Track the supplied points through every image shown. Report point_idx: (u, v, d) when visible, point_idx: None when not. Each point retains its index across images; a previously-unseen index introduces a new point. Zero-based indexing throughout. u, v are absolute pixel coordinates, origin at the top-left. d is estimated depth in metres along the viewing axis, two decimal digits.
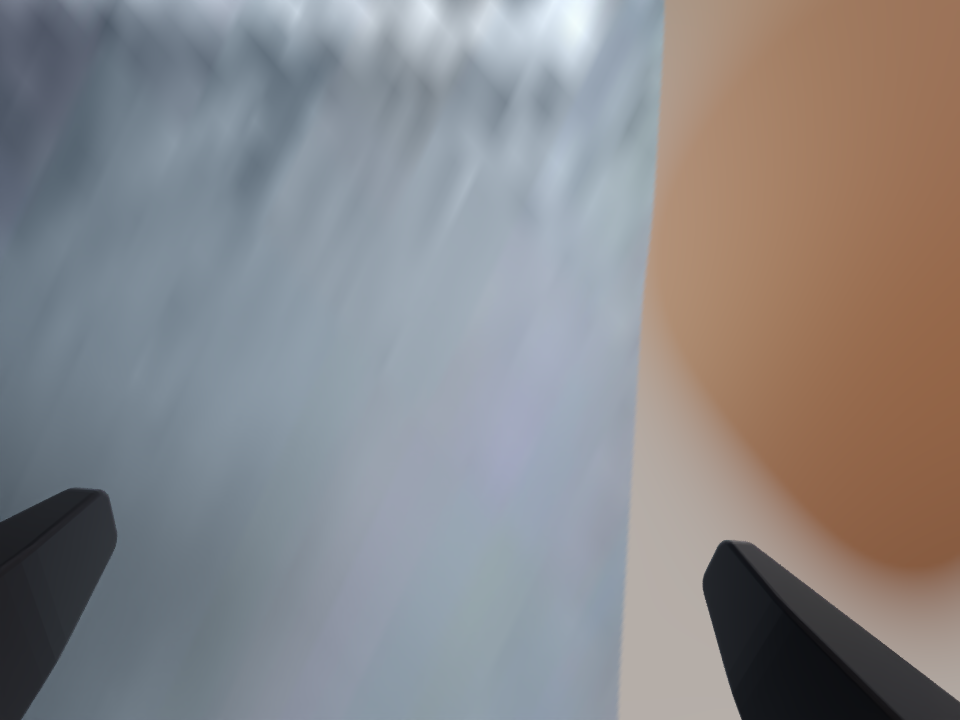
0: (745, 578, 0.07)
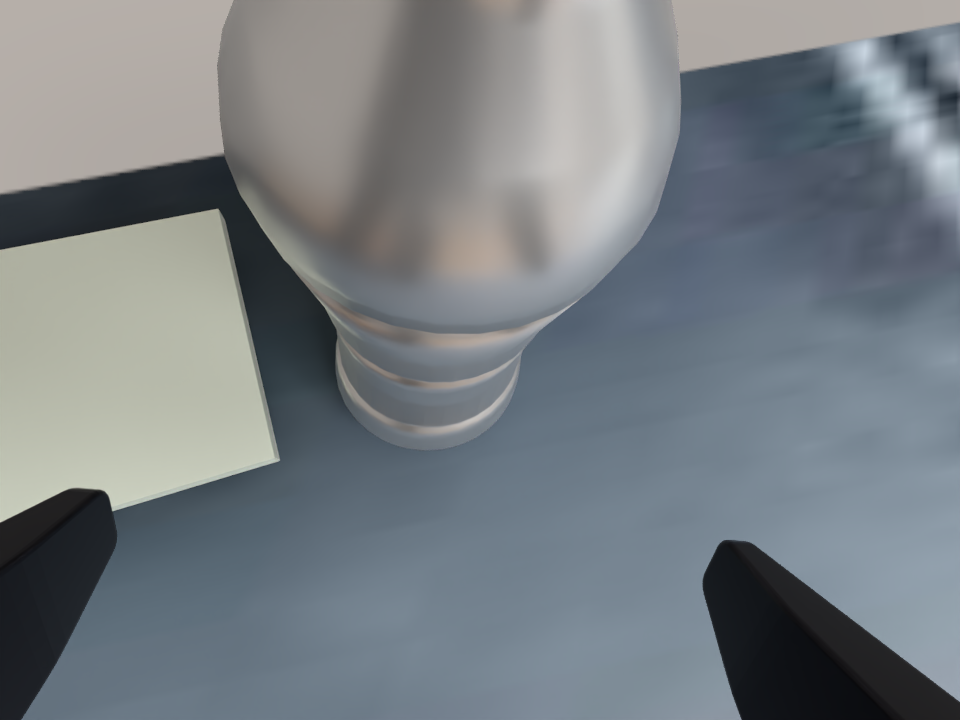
0: (745, 578, 0.07)
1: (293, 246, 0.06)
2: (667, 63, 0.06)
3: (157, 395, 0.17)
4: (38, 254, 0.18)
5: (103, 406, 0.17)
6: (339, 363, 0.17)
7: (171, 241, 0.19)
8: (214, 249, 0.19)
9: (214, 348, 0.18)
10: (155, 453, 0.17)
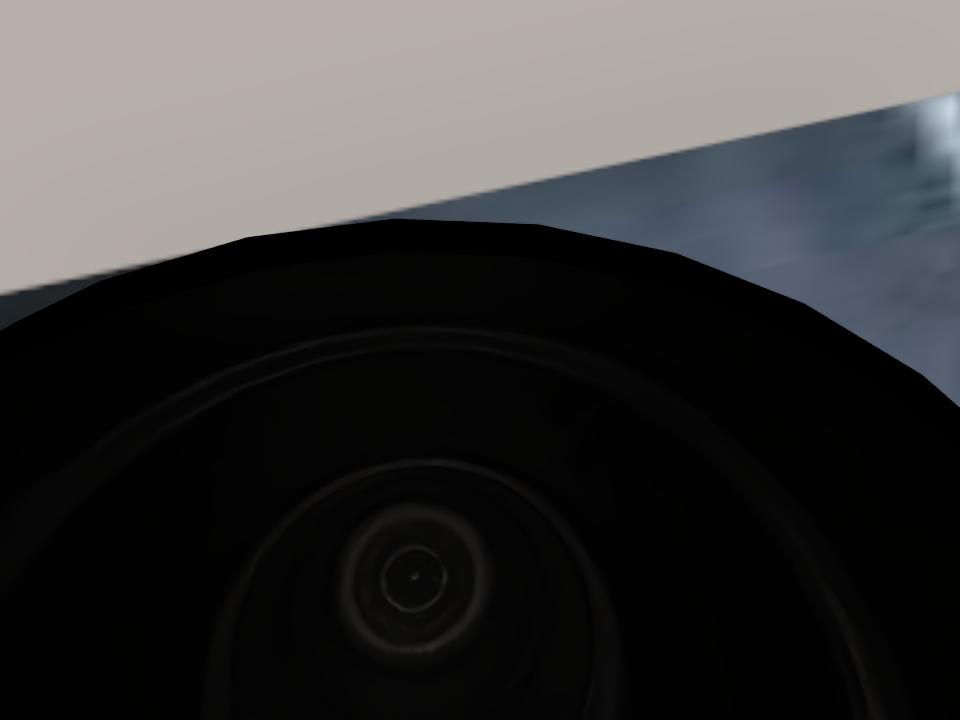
0: None
1: None
2: None
3: None
4: None
5: None
6: None
7: None
8: None
9: None
10: None
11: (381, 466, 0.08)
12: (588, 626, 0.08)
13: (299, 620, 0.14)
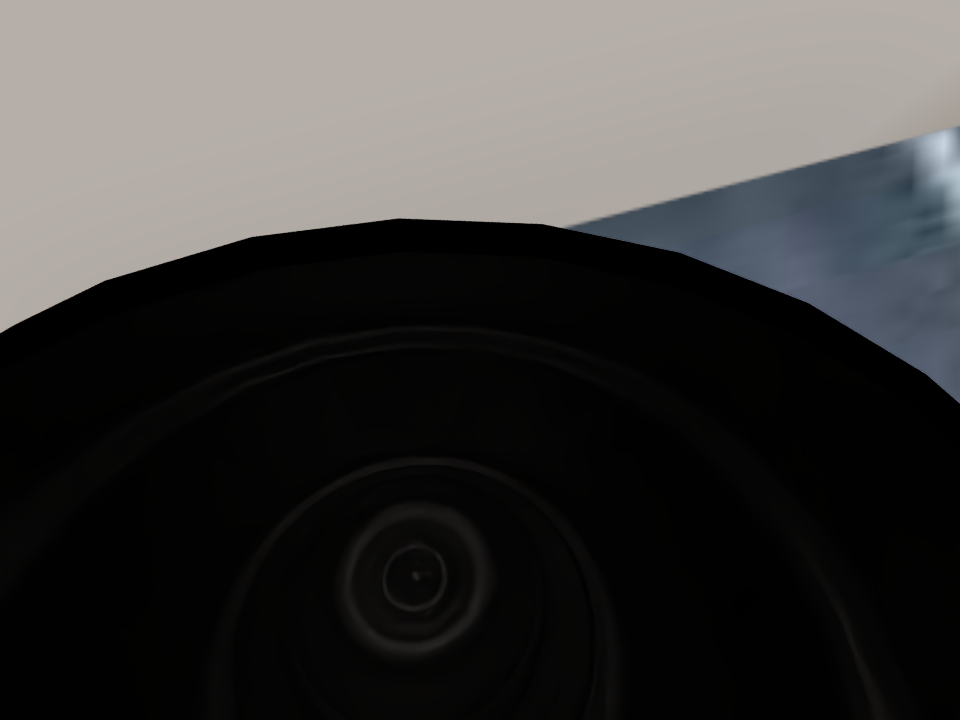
0: None
1: None
2: None
3: None
4: None
5: None
6: None
7: None
8: None
9: None
10: None
11: (383, 465, 0.08)
12: (589, 624, 0.08)
13: (300, 619, 0.14)
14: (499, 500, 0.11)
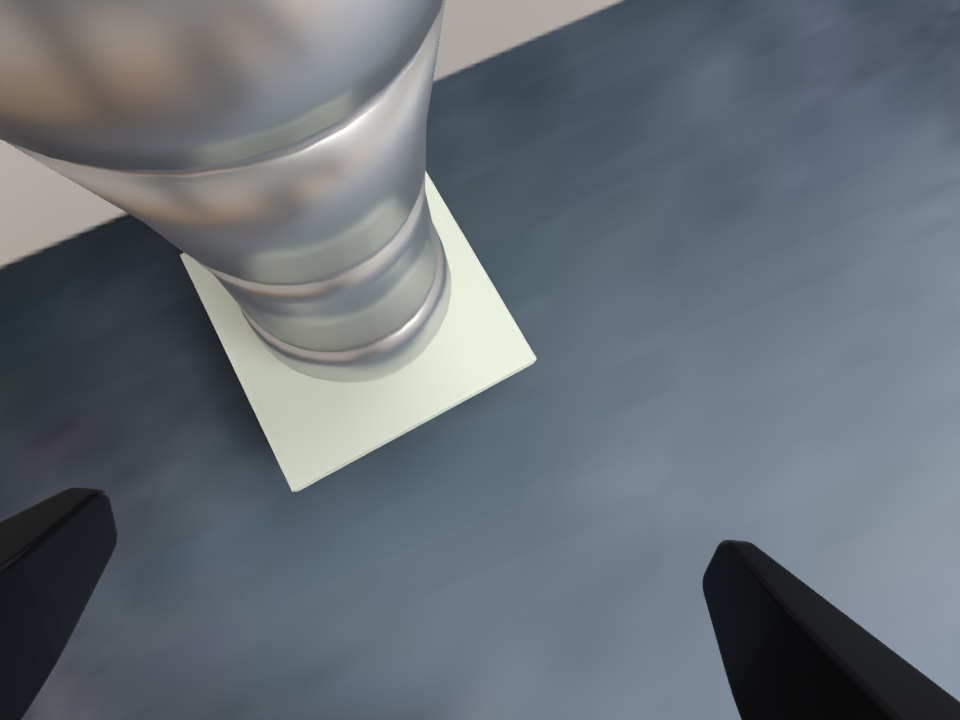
0: (745, 578, 0.07)
1: None
2: None
3: None
4: None
5: None
6: None
7: None
8: None
9: (455, 276, 0.20)
10: (438, 373, 0.19)
11: None
12: None
13: None
14: None
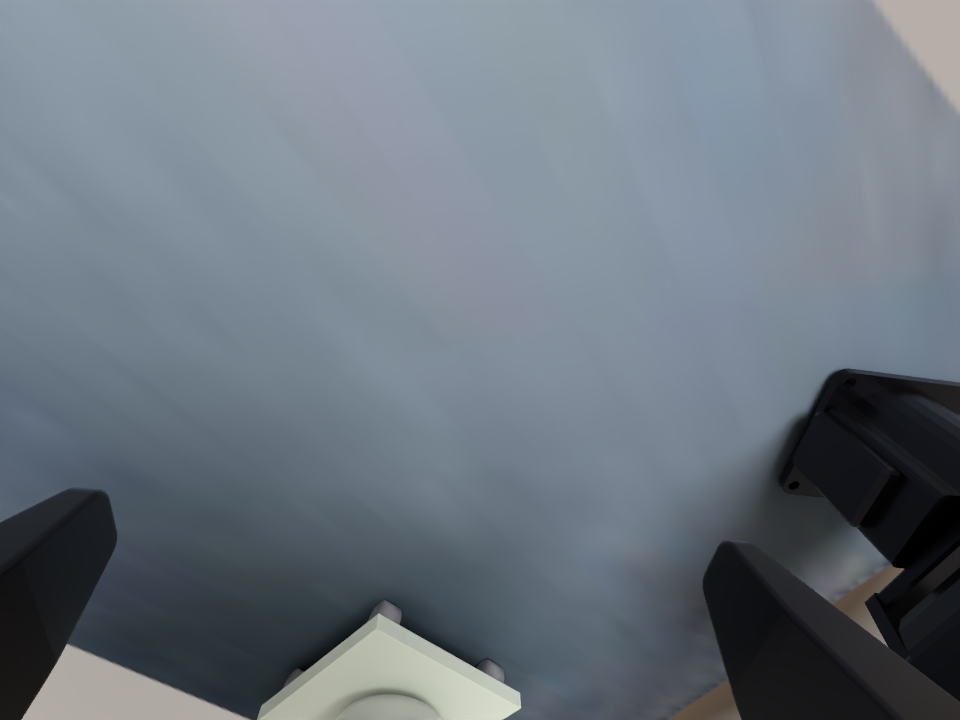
0: (745, 579, 0.07)
1: None
2: None
3: (385, 686, 0.26)
4: None
5: None
6: None
7: None
8: (281, 710, 0.27)
9: (338, 681, 0.26)
10: (415, 671, 0.26)
11: None
12: None
13: None
14: None
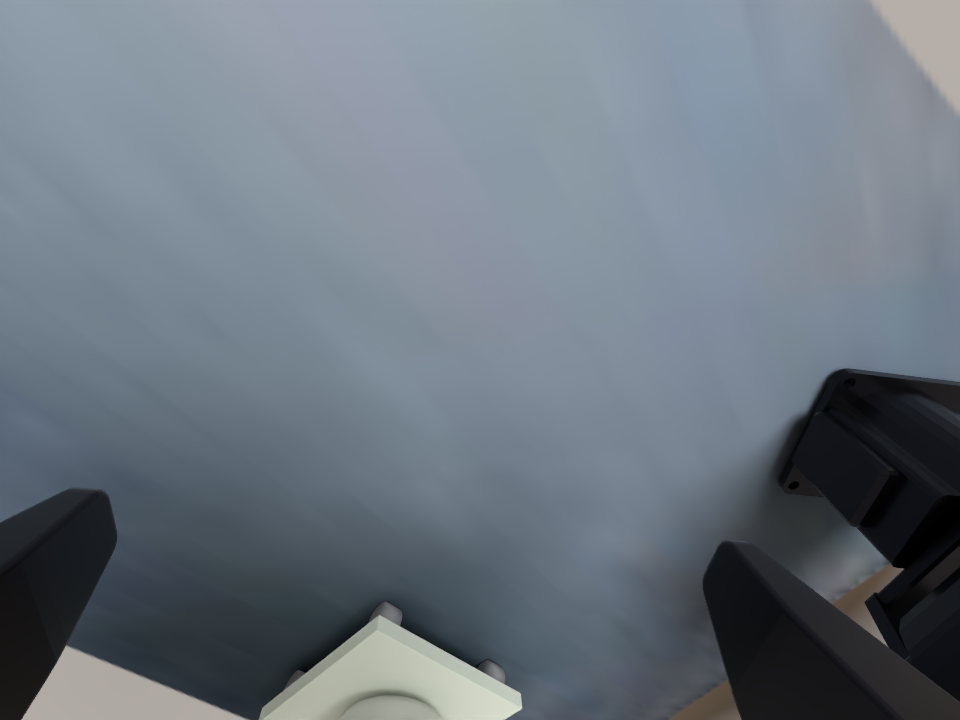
0: (745, 579, 0.07)
1: None
2: None
3: (385, 687, 0.26)
4: None
5: None
6: None
7: None
8: (283, 711, 0.27)
9: (339, 682, 0.26)
10: (415, 672, 0.26)
11: None
12: None
13: None
14: None
